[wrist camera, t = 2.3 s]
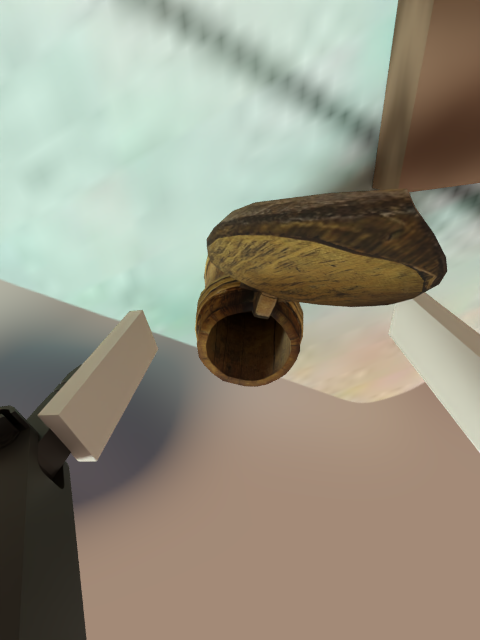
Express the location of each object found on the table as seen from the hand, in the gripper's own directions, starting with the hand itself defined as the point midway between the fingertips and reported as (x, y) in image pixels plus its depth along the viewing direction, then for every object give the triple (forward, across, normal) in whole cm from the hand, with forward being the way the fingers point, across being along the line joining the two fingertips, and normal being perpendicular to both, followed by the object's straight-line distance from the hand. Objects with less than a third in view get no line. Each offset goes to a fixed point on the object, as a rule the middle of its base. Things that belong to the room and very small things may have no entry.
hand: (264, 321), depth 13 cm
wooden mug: (+11, 0, 0) cm, 11 cm away
